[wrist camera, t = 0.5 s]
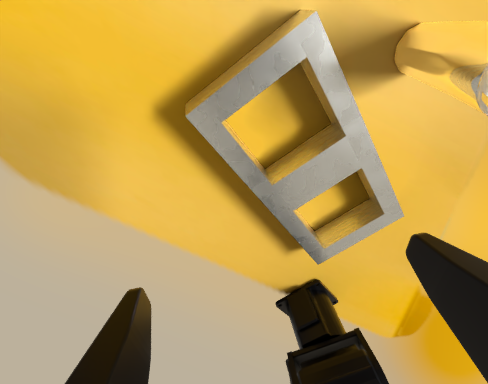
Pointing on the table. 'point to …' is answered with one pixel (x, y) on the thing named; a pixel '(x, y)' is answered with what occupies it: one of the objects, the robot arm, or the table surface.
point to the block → (308, 153)
